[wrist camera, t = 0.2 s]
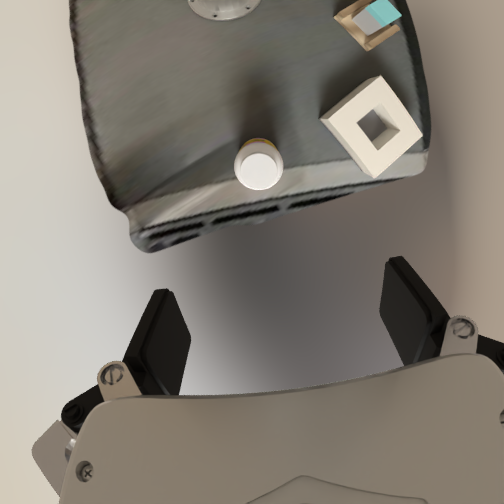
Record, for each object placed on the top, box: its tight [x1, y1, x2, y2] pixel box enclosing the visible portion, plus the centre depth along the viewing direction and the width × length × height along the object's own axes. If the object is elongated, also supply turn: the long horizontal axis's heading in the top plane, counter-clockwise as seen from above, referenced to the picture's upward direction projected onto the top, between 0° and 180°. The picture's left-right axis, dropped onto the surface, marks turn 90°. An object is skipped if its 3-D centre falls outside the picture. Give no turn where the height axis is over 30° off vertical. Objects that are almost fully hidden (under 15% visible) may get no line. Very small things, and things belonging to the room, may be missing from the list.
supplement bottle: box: [234, 138, 283, 190], centre depth 38 cm, size 7×7×13 cm
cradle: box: [333, 0, 400, 51], centre depth 30 cm, size 8×8×3 cm
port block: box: [319, 76, 423, 178], centre depth 38 cm, size 12×12×6 cm
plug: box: [352, 0, 402, 36], centre depth 26 cm, size 4×4×8 cm
